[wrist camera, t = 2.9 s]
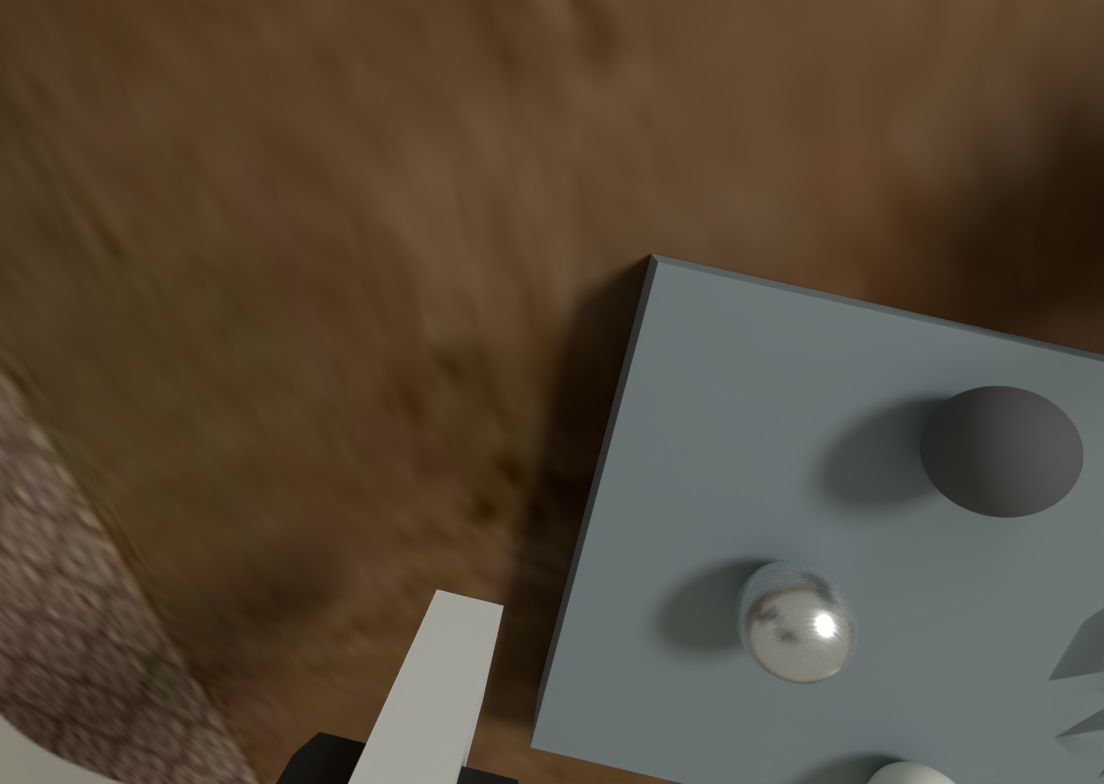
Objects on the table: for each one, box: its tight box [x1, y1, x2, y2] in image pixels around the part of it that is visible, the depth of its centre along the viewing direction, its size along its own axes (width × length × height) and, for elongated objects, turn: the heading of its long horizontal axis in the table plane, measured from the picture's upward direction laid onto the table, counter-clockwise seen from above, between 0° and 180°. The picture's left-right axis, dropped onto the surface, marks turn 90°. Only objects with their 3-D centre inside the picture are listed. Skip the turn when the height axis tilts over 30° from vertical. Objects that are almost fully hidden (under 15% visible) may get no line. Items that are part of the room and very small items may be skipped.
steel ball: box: [734, 561, 859, 685], centre depth 17 cm, size 3×3×3 cm
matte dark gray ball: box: [920, 386, 1083, 518], centre depth 15 cm, size 3×3×3 cm
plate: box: [530, 254, 1104, 784], centre depth 19 cm, size 26×17×2 cm, turn 78°
